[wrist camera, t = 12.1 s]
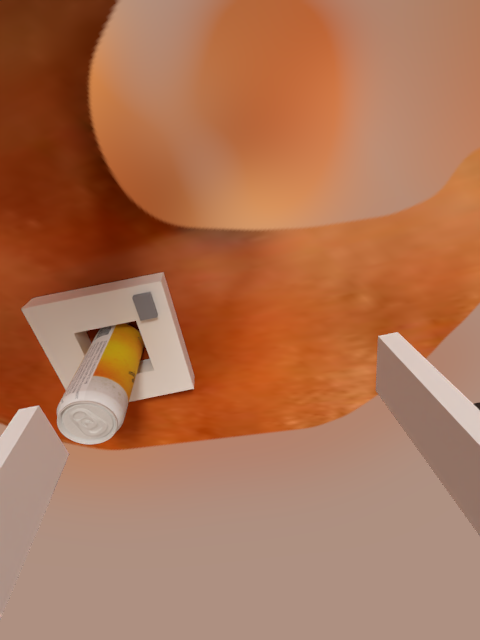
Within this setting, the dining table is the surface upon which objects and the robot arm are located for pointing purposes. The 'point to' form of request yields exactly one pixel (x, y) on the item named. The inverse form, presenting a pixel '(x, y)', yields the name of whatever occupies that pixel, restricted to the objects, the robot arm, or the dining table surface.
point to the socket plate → (111, 309)
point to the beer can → (101, 386)
